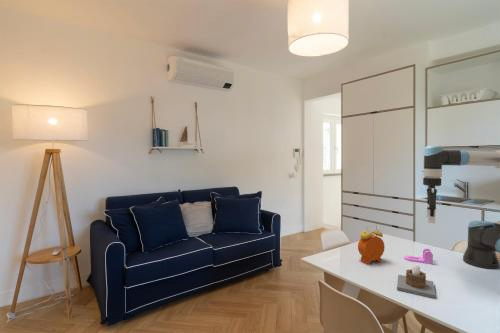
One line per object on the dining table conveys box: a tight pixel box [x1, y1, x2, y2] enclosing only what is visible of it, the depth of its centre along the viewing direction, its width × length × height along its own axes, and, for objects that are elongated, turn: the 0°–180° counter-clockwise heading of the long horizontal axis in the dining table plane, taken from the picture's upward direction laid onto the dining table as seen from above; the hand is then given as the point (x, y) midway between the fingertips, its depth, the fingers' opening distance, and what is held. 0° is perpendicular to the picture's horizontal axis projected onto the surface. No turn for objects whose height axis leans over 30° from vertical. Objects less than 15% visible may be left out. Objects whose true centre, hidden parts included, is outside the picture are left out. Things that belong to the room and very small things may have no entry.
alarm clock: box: [357, 224, 385, 265], centre depth 152 cm, size 13×6×20 cm, turn 108°
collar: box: [405, 268, 427, 288], centre depth 123 cm, size 7×7×5 cm
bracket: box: [403, 247, 434, 265], centre depth 153 cm, size 13×6×7 cm, turn 66°
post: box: [396, 264, 437, 300], centre depth 122 cm, size 14×14×10 cm
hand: (430, 220), depth 136 cm, fingers open, 13 cm apart
